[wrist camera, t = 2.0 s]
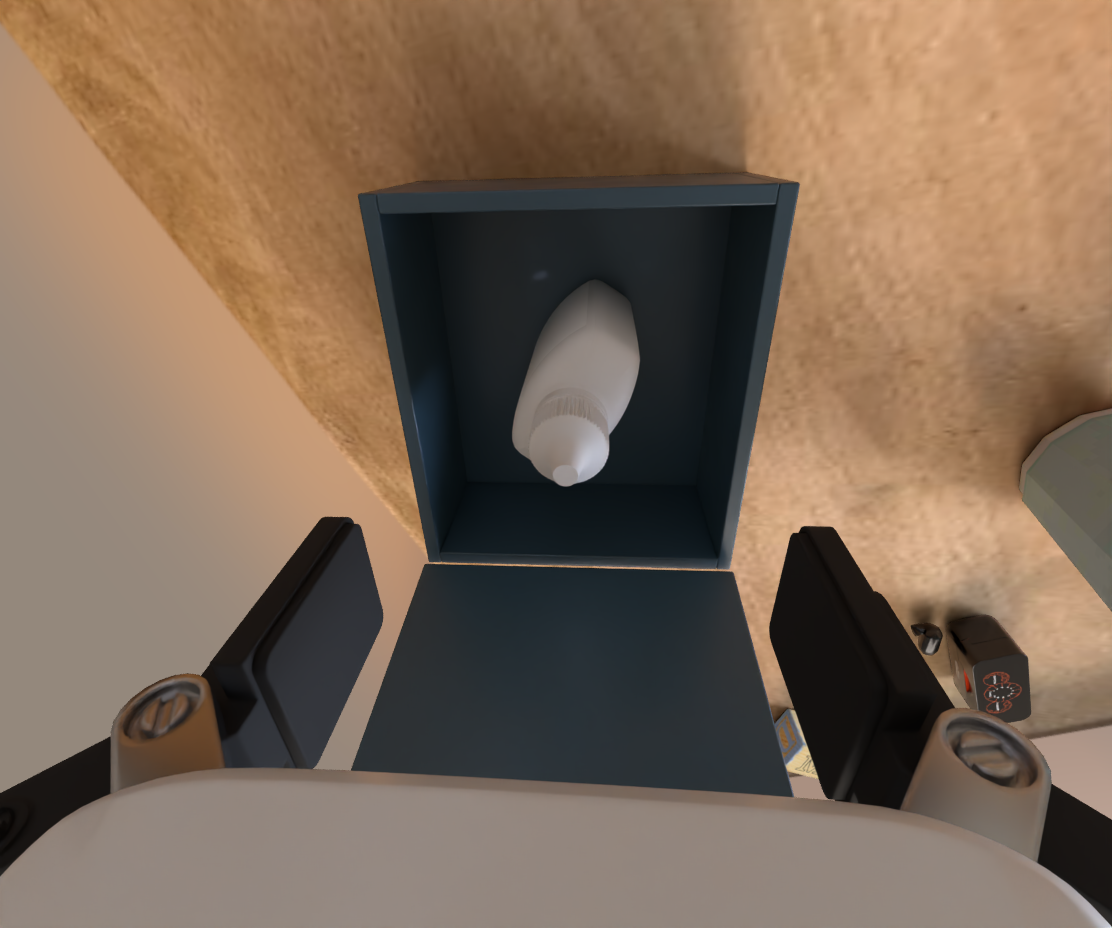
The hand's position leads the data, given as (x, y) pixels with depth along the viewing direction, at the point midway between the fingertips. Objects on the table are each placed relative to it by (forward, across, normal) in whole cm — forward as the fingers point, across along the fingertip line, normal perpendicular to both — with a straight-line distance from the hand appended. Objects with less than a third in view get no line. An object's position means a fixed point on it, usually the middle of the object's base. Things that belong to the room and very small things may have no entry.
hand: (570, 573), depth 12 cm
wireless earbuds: (+17, -23, +20) cm, 35 cm away
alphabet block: (+17, -15, +28) cm, 36 cm away
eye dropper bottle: (+16, 0, -1) cm, 16 cm away
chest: (+16, 0, 0) cm, 16 cm away
